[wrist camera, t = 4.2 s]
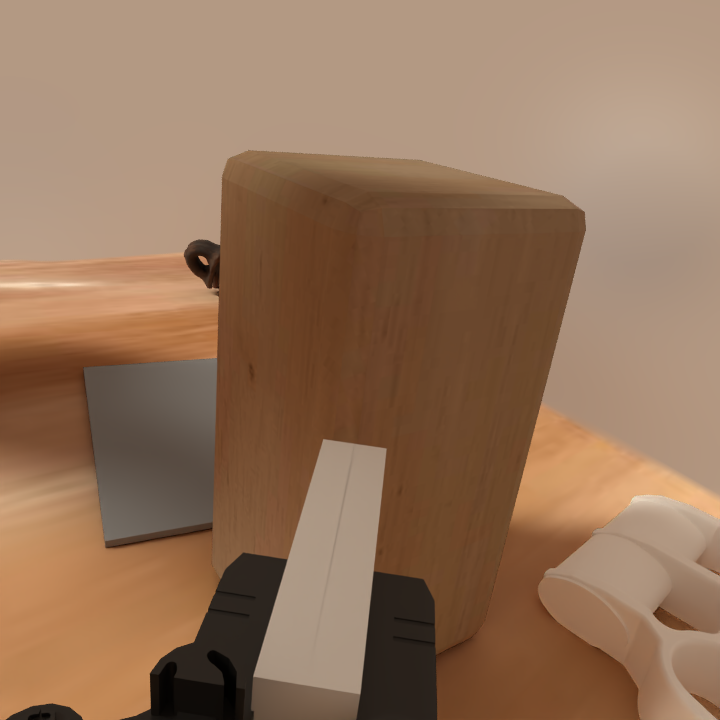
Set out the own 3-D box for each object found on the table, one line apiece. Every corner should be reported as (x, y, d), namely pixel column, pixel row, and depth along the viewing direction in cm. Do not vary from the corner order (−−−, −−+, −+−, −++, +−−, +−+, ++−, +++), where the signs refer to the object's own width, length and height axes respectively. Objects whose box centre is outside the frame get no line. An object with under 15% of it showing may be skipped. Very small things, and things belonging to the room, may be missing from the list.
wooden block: (203, 567, 31) (212, 145, 23) (370, 514, 36) (423, 157, 29) (297, 736, 24) (357, 198, 16) (489, 639, 29) (606, 201, 21)
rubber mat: (83, 371, 49) (83, 367, 48) (362, 352, 59) (362, 348, 59) (105, 547, 31) (105, 541, 31) (493, 476, 42) (494, 471, 41)
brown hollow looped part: (278, 286, 76) (303, 236, 71) (276, 344, 70) (304, 295, 65) (179, 257, 72) (197, 202, 66) (168, 316, 66) (187, 261, 60)
